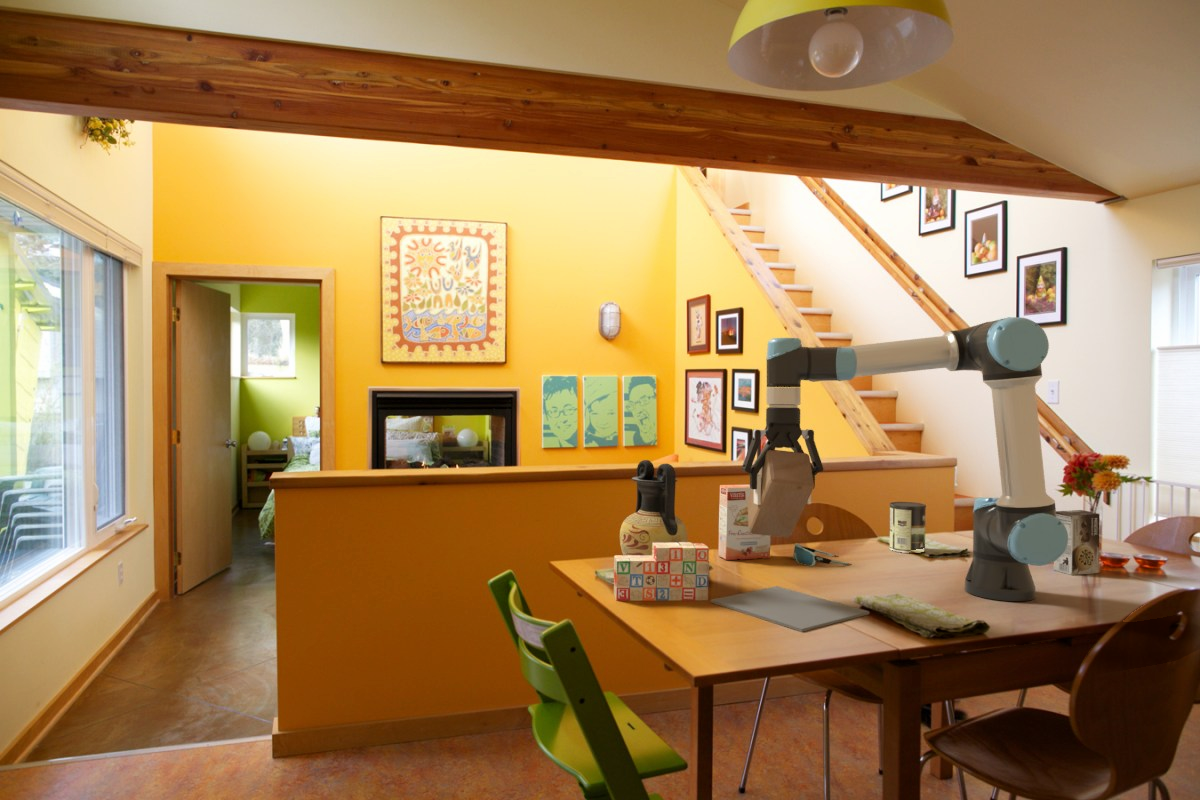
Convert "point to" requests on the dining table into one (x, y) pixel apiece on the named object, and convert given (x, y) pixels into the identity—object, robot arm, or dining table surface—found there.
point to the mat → (790, 608)
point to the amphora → (652, 512)
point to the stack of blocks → (663, 573)
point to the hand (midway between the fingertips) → (782, 503)
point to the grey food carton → (1079, 543)
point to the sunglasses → (812, 556)
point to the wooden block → (781, 493)
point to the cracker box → (738, 526)
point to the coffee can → (907, 526)
